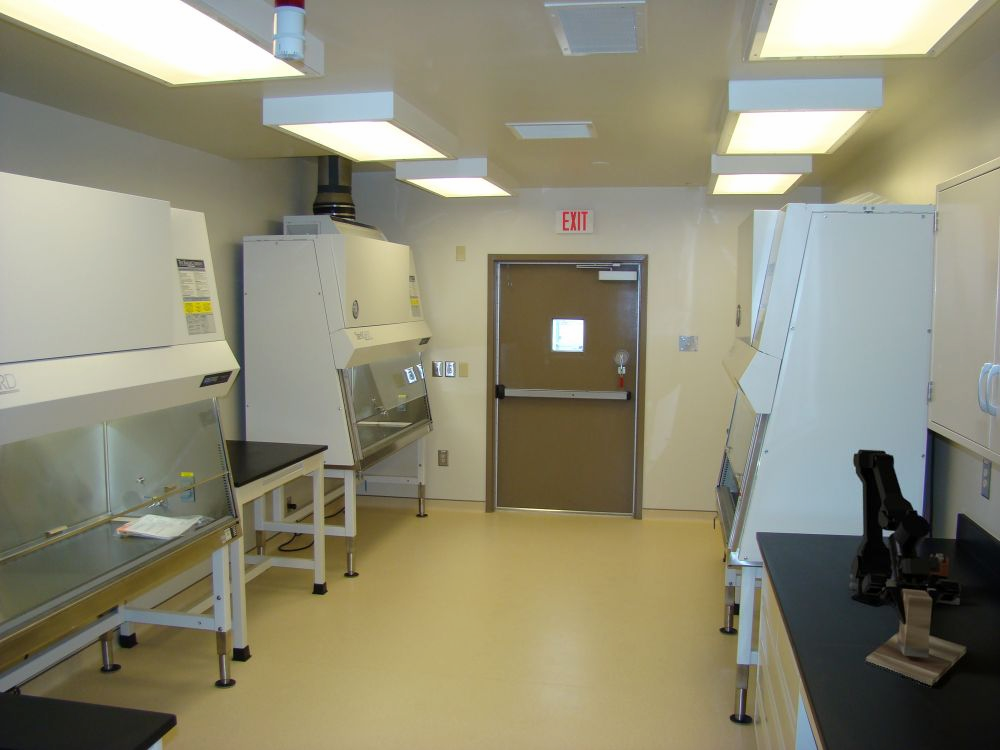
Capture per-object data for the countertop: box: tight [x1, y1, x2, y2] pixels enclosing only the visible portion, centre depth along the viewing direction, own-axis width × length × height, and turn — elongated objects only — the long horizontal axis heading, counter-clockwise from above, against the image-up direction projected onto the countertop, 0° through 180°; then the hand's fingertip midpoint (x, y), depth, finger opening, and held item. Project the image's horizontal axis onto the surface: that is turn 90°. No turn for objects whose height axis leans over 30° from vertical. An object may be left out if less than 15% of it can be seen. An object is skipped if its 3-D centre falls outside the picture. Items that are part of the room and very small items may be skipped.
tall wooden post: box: [897, 589, 932, 658], centre depth 163 cm, size 5×5×13 cm
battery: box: [927, 552, 950, 584], centre depth 203 cm, size 4×7×10 cm, turn 149°
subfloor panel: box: [865, 631, 967, 686], centre depth 166 cm, size 22×13×2 cm, turn 133°
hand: (916, 625), depth 162 cm, fingers closed on tall wooden post, 4 cm apart
